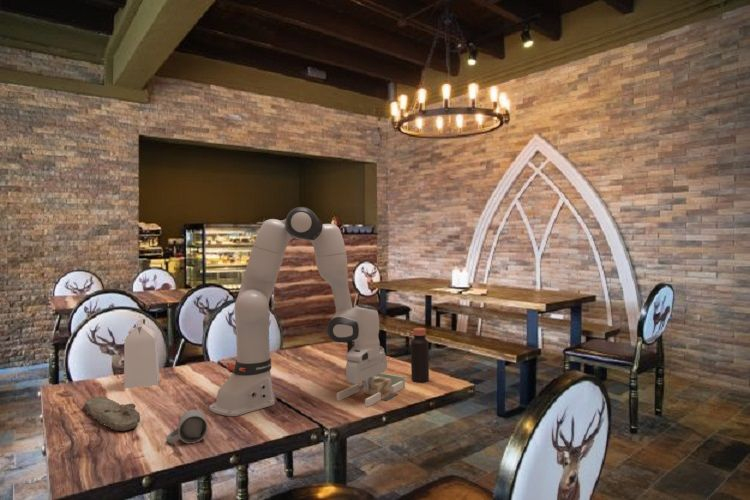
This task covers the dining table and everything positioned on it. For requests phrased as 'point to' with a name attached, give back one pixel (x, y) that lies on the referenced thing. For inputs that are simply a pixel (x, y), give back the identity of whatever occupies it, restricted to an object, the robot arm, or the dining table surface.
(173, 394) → the dining table surface
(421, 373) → the bottle
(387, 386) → the maple block
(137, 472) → the dining table surface
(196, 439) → the ceramic mug
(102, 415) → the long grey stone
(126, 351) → the milk
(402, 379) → the box
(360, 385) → the pads
